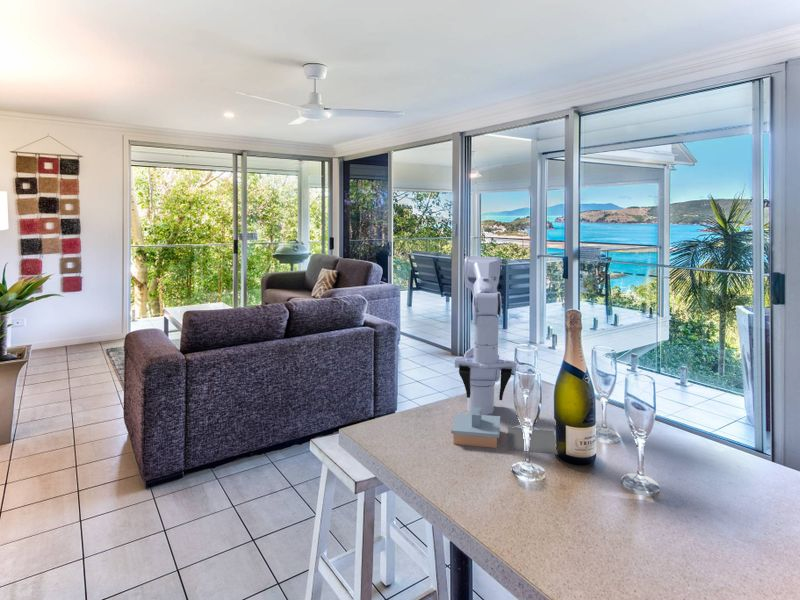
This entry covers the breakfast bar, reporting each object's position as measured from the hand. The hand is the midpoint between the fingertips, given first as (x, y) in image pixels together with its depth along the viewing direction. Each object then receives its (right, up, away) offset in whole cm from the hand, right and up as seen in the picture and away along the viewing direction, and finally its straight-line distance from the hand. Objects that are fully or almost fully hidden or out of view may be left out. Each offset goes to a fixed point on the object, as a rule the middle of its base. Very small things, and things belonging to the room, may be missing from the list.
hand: (484, 397), depth 119 cm
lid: (-2, -7, 0) cm, 7 cm away
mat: (+11, -11, -1) cm, 15 cm away
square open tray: (-2, -10, 0) cm, 11 cm away
